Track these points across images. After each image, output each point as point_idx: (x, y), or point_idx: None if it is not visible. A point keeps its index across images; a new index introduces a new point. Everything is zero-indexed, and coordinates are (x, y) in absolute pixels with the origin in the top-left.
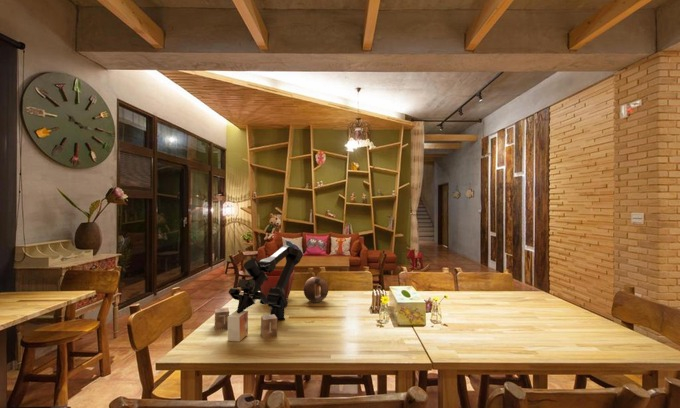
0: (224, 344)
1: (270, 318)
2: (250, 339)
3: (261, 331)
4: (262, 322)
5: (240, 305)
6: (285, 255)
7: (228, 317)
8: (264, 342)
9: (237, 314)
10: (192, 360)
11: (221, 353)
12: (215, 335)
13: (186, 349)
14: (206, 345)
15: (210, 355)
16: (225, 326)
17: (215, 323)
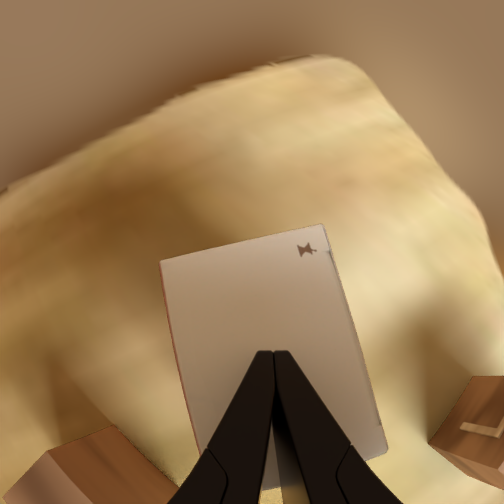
0: None
1: (30, 491)
2: (170, 381)
3: (154, 478)
4: (97, 478)
5: (290, 448)
6: None
7: (307, 229)
8: (72, 371)
9: (250, 328)
10: (261, 81)
11: (196, 160)
12: (417, 321)
13: (376, 131)
14: (343, 193)
15: (229, 127)
16: (448, 429)
17: (496, 377)
